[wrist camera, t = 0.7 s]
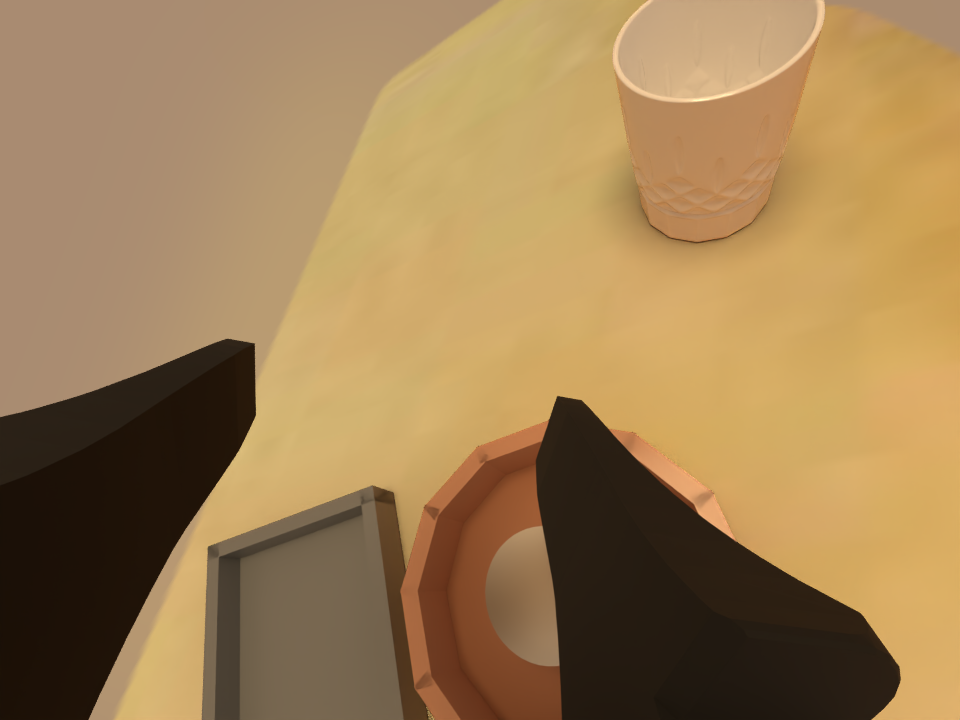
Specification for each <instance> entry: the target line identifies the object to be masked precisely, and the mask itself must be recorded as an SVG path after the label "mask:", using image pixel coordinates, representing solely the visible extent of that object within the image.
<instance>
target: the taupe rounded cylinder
mask: <svg viewBox="0 0 960 720" xmlns="http://www.w3.org/2000/svg"><path fill="white" fill-rule="evenodd" d="M485 598H486V606H487V611H488V615H489V618H490V621H491V623H492V625H493V628H494V629H495V631H496V633H497V635H498V636H499V638H500V639H501V640H502V642H503V643H504V644H505V645H506V646H507V647H508V648H509V649H510V650H511V651H512V652H513V653H515V654H516V655H517V656H519V657H520V658H522V659H524V660H526V661H528V662H530V663H533V664H537V665H542V666H559V650H558V634H557V621H556V608H555V597H554V589H553V582H552V576H551V571H550V565H549V560H548V554H547V549H546V543H545V538H544V533H543V527H542V526H538V527H532V528H528V529H525V530H522V531H520V532H518V533H516V534H515V535H513V536H512V537H510V538H509V539H508V540H507V541H506V542H505V543H504V544H503V545H502V546H501V547H500V548H499V550H498V551H497V553H496V554H495V556H494V558H493V560H492V562H491V564H490V567H489V570H488V573H487V578H486V586H485Z"/></svg>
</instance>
